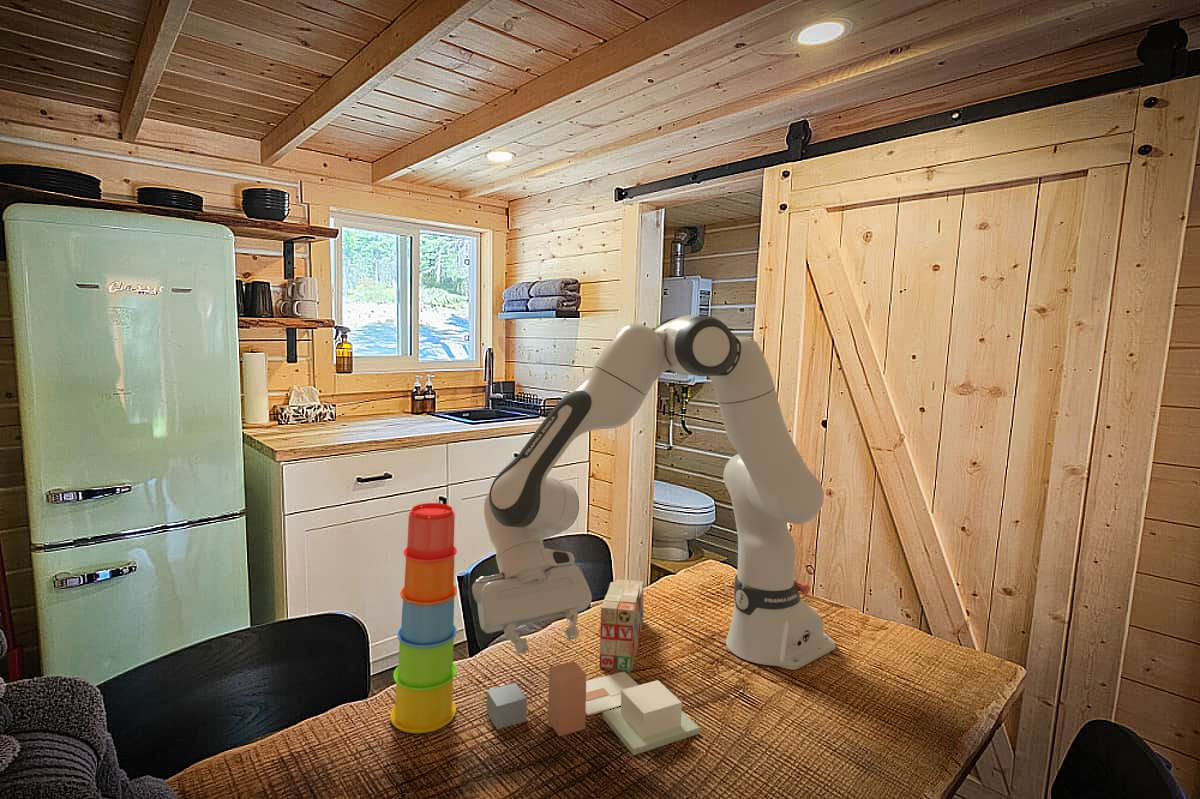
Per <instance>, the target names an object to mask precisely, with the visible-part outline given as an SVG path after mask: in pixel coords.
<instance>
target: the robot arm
mask: <svg viewBox="0 0 1200 799" xmlns="http://www.w3.org/2000/svg"><path fill="white" fill-rule="evenodd" d="M666 371H668V372H673V373H677V374H679V375H683V376H697V377H709V379H710V382H711V383H712V385H713V388H714V392H715V393H714V394H715V397H716V400H717V405H718V408H719V412H720V415H721V419H722V424H723V426H724V429H725V433H726V437H727V439H728V441H729V442H730V444H731V445H732V446H733V447H734V450H736V452H737V454H735V455H733V456H731V458H730V459H729V460H728V461H727V463H726V464H725V467H724V469H723V474H722V478H723V483H724V486H725V488H726V489H727V491H728V493H729V496H730V499H731V500H730V501H731V504H732V509H733V514H734V520H735V526H736V531H737V532H736V533H737V545H738V546H737V573H736V574H735V576H734V584H733V585H734V586H733V587H734V588H733V589H734V590H733V595H734V596H733V597H734V606H733V611H732V616H731V621H730V625H729V630H728V633H727V636H726V640H725V644H726V645H725V646H726V648H727V649H728V650H729V651H730V652H731V653H732V654H734V655H735V656H737V657H739V658H741V659H742V660H745V661H748V662H751V663H755V664H759V665H766V666H774V667H775V666H776V667H779V668H783V669H787V670H792V671H796V670H798V669H800V668H802V667H804V666H807V665H808V664H810V663H812V662H813V661H816V660H817V659H819V658H821V657H823V656H825V655H827V654H829V653H830V652H832V651H834V650H836V649H837V647H836V642H835V641H834V640H833V639H832V638H831V636H829V635H828V634H827V633H826V632H824V630H825V629H824V621H823V619H822V616H821V615H820V614H819V613H818V612H817V611H816V610H815V609H814V608H813V607H812V606H810V605H809V604H808V603H807V602H805V601H804V600H803V599H802V598H801V597H800V592H801V593H802V594H804V595H808V594H809V592H810V591H811V586H810V584H808V583H804V582H803V581H799V582H797V581H796V579H795V574H796V573H795V570H796V569H795V568H796V553H797V550H796V548H797V547H796V543H795V540H794V537H793V536H792V534H791V532H790V531H789V527H788V524H794V525H803V524H804V525H805V524H807V523H809V522H811V521H813V519H815V518H816V517H817V516H818V514H819V513H820V512H821V511H822V508H823V505H824V501H825V493H824V488H823V485H822V484H821V483H822V482H820V481H819V479H818V478H817V477H816V476H815V474H813V473H812V472H811V470H810V468H808V466H807V465H806V463H805V462H804V459H803V458H802V456H801V454H800V452H799V451H798V449H797V447H796V446H797V445H795V443H794V441H793V439H792V437H791V435H790V433H789V431H788V429H787V426H786V423H785V420H784V417H783V413H782V409H781V406H780V402H779V399H778V395H777V392H776V387H775V383H774V379H773V377H772V374H771V371H770V368H769V366H768V362H767V360H766V358H765V355H764V353H763V351H762V349H761V347H760V345H759V343H758V342H757V341H756V340H755V339H753V338H750V337H747V336H740V335H739V336H735V334H734V333H733V332H732V331H731V329H730V328H729V327H728V325H726V324H725V323H724V322H723V321H721V320H720V319H718V318H716V317H713V316H710V315H698V314H697V315H696V314H685V315H681V316H680V317H673V318H669V319H667V320H664V321H663V322H661V323H659V324H658V325H656V326H655V327H653V328H650V327H649V326H647V325H644V324H636V323H631V324H627V325H625V326H624V327H622V328H621V329H620V330H619V331H618V332H617V334H616V335H615V336H613V338H612V339H611V340H610V342H608V345H607V346H606V347H605V349H604V350H603V351H602V353H601V355H600V356H599V357H598V359H597V361H596V362H595V363H594V366H593V367H592V369H591V370H590V372H589V373H588V375H587V376H586V377H585V379H584V380H583V381H582V382H581V383H580V384H579V386H577V387H576V388H575V389H574V390H573V391H571V392H569V393H566V395H564V396H563V397H562V398H561V399H560V400H559V401H558V402H557V403H556V405H555V406H554V407H553V408H552V409H551V411H550V412H549V413H548V415H547V416H546V417H545V419H544V420H543V421H542V422H541V424H540V425H539V426H538V428H537V429H536V431H535V432H534V433H533V434H532V436H531V437H530V438H529V440H528V441H527V443H526V444H525V445H524V447H523V448H522V449H521V451H519V453H518V455H516V457H515V458H514V459H513V460H512V461H511V462H510V463H508V465H507V466H506V467H504V468H503V469H502V470H500V472H499V473H498V475H497V476H495V477H494V480H493V481H492V483H491V486H490V489H489V493H488V494H487V495H486V497H485V500H484V506H483V513H484V514H483V515H484V519H485V520H484V521H485V523H486V524H485V525H486V530H487V532H488V536H489V540H490V542H491V544H492V545H493V548H494V549H495V560H496V564H497V568H498V570H499V573H496V574H492V575H488V576H486V575H485V576H480V577H478V578H477V579H476V580H475V581H474V582H473V584H472V587H471V592H472V596H473V600H474V601H475V602H476V604H477V611H478V612H477V613H478V614H477V615H478V621H479V626H480V629H481V630H482V631H483V632H485V633H486V634H492V633H495V632H499V631H503V632H504V636H505V637H506V638H507V639H508V640H509V641H510V642H511V643H512V644H513V645H514V647H515V651H516V654H518V655H520V654H523V653H526V652H527V651H528V650H529V644H528V640H527V638H526V637H525V638H521V637H520V635H518V634H517V632H516V630H517V627H520V626H524V625H528V624H532V623H537V622H542V621H545V620H549V619H553V618H557V617H562V616H565V618H566V621H569V626H568V627H567V628H566V629H565V630H564V632H565V635H566V638H567V640H568V641H572V640H575V639H577V638H578V637H579V631H578V627H577V624H578V617H579V612H582V611H585V610H586V609H587V608H588V607H589V606H590V604H591V602H592V599H593V595H592V592H591V590H590V586H589V585H588V582H587V580H586V578H585V576H584V574H583V572H582V570H581V569H580V568H579V567H577V566H576V565H574V563H575V561H576V559H575V556H574V554H573V553H572V552H569V551H564V550H563V551H562V550H557V549H551V548H548V547H544V546H545V545H544V543H543V541H544V539H547V538H551V537H553V536H555V535H559V534H560V533H562V532H565V531H566V530H569V528H570V527H572V525H573V524H575V521H576V520H577V517H578V514H579V511H580V500H579V496H578V493H577V490H575V489H574V487H573V486H572V485H570V484H568V483H565V482H563V481H561V480H558V479H556V478H553V477H549V476H548V475H549V473H550V472H551V471H552V469H553V468H554V467H555V465H556V464H557V463H558V461H559V460H560V459H561V457H562V456H563V454H565V451H566V450H567V449H568V448H569V446H570V445H571V444H572V442H573V441H574V440H575V439H577V438H578V437H579V436H582V435H583V434H585V433H588V432H592V431H596V430H597V431H598V430H610V429H616V428H619V427H622V426H623V425H626V424H627V423H628V422H630V421H631V420H632V418H633V417H634V416H635V415H636V414H637V413H638V411H639V410H640V408H641V406H642V405H643V402H644V401H645V400H646V398H647V395H648V394H649V392H650V390H651V388H652V386H653V384H654V382H656V381H657V379H658V378H659V377H660V376H661V375H662V374H663V373H665V372H666Z"/></svg>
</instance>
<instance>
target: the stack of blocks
mask: <svg viewBox="0 0 1200 799" xmlns="http://www.w3.org/2000/svg"><path fill="white" fill-rule="evenodd" d="M643 622H644V581H643V580H642V581H641V580H629V579H617V578H616V579H615V581H614V582H613V581H611V582H610V583H609V586H608V589H607V593H606V594H605V596H604V599H603V601H602V604H601V606H600V626H599V628H600V629H599V630H600V631H599V632H600V633H599V634H600V635H599V636H600V639H599V640H600V644H599V645H600V646H599V666H598V667H599V669H600V668H604V669H603V670H609V669H613V670H612V671H619V670H620V671H619V672H623V671H625V672H628V671H630V673H632V672H633V668H634V663H635V661H636V656H637V652H638V645H639V638H640V634H641V633H642V629H643V624H644V623H643ZM631 671H632V672H631Z"/></svg>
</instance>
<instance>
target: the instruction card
mask: <svg viewBox="0 0 1200 799" xmlns="http://www.w3.org/2000/svg"><path fill="white" fill-rule="evenodd" d="M638 685H639V684H638V683H637V682H636V681H635V680H634V679H633V678H632V677H631V676H630V675H629V674H628V672H627V671H619V672H617V673H613V674H608V675H604V676H600V677H597V678H593V679H589V680H586V715H585V716H587V717H589V716H593V715H596V714H599V713H603V712H605V711H609V710H610V709H611V710H612V709H613V708H614V709H616V708H617V707H618V708H619V706H621V690H623V689H627V688H630V687H634V686H638Z"/></svg>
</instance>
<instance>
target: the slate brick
mask: <svg viewBox="0 0 1200 799" xmlns="http://www.w3.org/2000/svg"><path fill="white" fill-rule="evenodd" d="M527 698H528V697H527V696H526V695H525V693H524V692H523V690H522V689H521V688H520V687H519V686H518V684H517V683H516V682H513V683H509V684H505V685H502V686H499V687H498V686H497V687H494V688H490V689H486V713H487V716H488V715H489V716H488V717H489V720H490V721H491V722H492V724H493V726H494V727H496V728H495V729H496V730H497V729H498V730H501V729H504V728H503V727H505V728H507V726H508V727H511V726H514V725H518V724H521V723H524V721H525V722H527V720H528V718H527V713H528V712H527V711H528V710H527V706H528V705H527V704H528V701H527V700H528V699H527ZM500 728H501V729H500Z"/></svg>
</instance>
